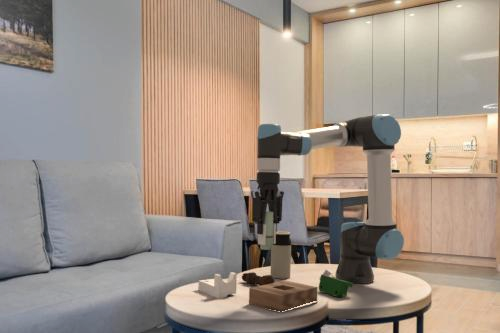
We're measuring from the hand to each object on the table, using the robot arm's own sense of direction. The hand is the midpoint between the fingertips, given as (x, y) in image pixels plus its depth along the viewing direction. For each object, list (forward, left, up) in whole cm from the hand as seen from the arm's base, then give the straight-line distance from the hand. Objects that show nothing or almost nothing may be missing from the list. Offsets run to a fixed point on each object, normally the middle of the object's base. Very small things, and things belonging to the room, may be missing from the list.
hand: (266, 243), depth 155 cm
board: (-2, +6, -18) cm, 19 cm away
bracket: (+5, -18, -19) cm, 27 cm away
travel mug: (-33, -21, -19) cm, 43 cm away
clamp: (-26, +9, -19) cm, 34 cm away
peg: (0, 0, -2) cm, 2 cm away
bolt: (-14, -17, -19) cm, 29 cm away
